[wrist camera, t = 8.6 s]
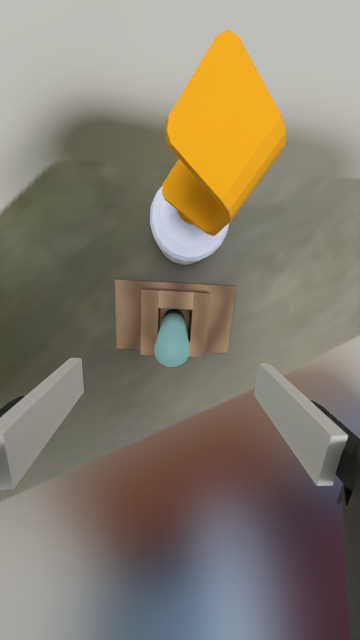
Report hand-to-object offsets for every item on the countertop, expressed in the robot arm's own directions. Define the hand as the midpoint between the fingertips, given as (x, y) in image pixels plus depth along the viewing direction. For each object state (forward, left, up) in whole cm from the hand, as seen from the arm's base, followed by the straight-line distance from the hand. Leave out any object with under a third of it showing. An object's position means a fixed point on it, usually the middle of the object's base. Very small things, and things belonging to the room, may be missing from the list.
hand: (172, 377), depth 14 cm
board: (0, 0, -21) cm, 21 cm away
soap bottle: (+1, +13, -21) cm, 25 cm away
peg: (0, 0, -19) cm, 19 cm away
